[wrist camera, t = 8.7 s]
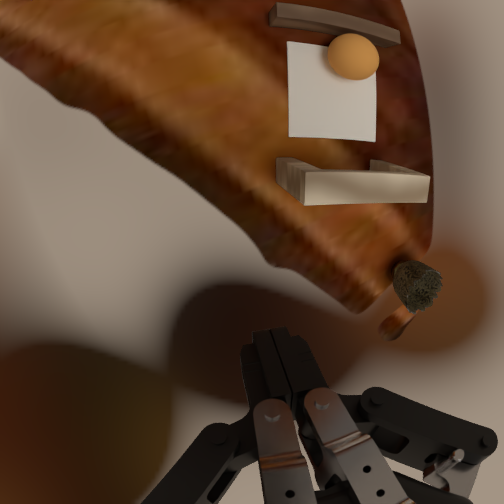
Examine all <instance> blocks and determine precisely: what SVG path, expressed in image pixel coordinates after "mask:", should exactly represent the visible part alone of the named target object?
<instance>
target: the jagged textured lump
mask: <svg viewBox="0 0 504 504" xmlns="http://www.w3.org/2000/svg"><path fill="white" fill-rule="evenodd" d="M391 275H392V278H393V286H394V289H395V292H396V293H397V295H398V296H399V298H400V300H401V301H402V302H403V304H404V305H405V307H406V308H407V309H408V311H409V312H410V313H411V312H412V313H413V314H416V310H418V309H420V310H421V311H425V307H430V306H432V303H433V298H437V297H438V296H437V294H436V292H440V291H441V287H440V286H442V283H441V281H440V279H442V278H441V276H440V273H439V272H437V271H436V270H434V269H432V268H431V267H429V266H427V265H425V264H424V263H421V262H419V261H415V260H410V261H404V260H400V261H398V262H396V263H395V264H394V266H393V267H392V270H391ZM435 291H436V292H435Z"/></svg>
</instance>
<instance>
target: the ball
mask: <svg viewBox="0 0 504 504" xmlns="http://www.w3.org/2000/svg"><path fill="white" fill-rule="evenodd" d="M327 55H328V60H329V63H330V65H331V67H332V68H333V69H334V71H335V72H336V73H338V74H339V75H340V76H342V77H344V78H346V79H350V80H364V79H367V78H369V77H370V76H372V75H373V74H374V73H375V71H376V70H377V68H378V65H379V55H378V52H377V50H376V48H375V46H374V45H373V44H372V43H371V42H370V41H369V40H368V39H366V38H365V37H363V36H361V35H358V34H352V33H348V34H342V35H340V36H338V37H336V38H335V39H334V40H333V41H332V42H331V43H330V45H329V47H328V54H327Z"/></svg>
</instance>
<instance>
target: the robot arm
mask: <svg viewBox="0 0 504 504" xmlns="http://www.w3.org/2000/svg"><path fill="white" fill-rule="evenodd" d="M252 341H253V344H246V345H243V346H242V349H241V353H240V359H241V369H242V376H243V381H244V385H245V390H246V395H247V399H248V403H249V408H250V410H249V412H248V413H247V415H246V416H245V417H244V418H242V419H241V420H239V421H237V422H235V423H232V424H230V425H228V424H225V423H213V424H210V425H208V426H206V427H205V428H204V429H203V430H202V431H201V433H200V434H199V435H198V436H197V438H196V439H195V440H194V441H193V443H192V444H191V445H190V446H189V448H188V449H187V450H186V451H185V453H184V454H183V455H182V456H181V458H180V459H179V460H178V461H177V463H176V464H175V465H174V466H173V467H172V468H171V470H170V471H169V472H168V473H167V474H166V475H165V477H164V478H163V479H162V480H161V481H160V483H159V484H158V485H157V486H156V487H155V488H154V489H153V490H152V492H151V493H150V494H149V495H148V496H147V497H146V499H144V500H143V502H142V503H141V504H218V503H219V501H220V500H221V498H222V497H223V496H224V494H225V493H226V491H227V490H228V489H229V487H230V486H231V484H232V483H233V481H234V480H235V478H236V477H237V475H238V474H239V473H240V471H241V469H242V468H244V467H246V466H248V465H250V464H252V463H254V462H256V461H258V464H259V470H260V477H261V484H262V491H263V498H264V504H473V503H472V502H471V501H470V500H469V499H468V498H469V495H470V493H471V490H472V487H473V485H474V481H475V479H476V476H477V473H478V469H479V467H480V464H481V462H482V461H483V460H484V459H486V458H487V457H488V456H490V455H491V454H492V453H493V452H494V451H495V450H496V448H497V444H498V440H497V435H496V433H495V432H494V431H493V430H492V429H490V428H487V427H484V426H481V425H478V424H475V423H471V422H469V421H466V420H463V419H460V418H457V417H454V416H451V415H449V414H446V413H443V412H441V411H438V410H435V409H433V408H430V407H428V406H425V405H423V404H420V403H418V402H415V401H413V400H410V399H408V398H405V397H403V396H400V395H398V394H396V393H393V392H391V391H389V390H386V389H384V388H381V387H372V388H369V389H367V390H365V391H364V392H363V394H362V395H341V394H337V393H336V392H334V391H333V390H331V389H330V388H329V387H328V386H327V383H326V381H325V379H324V377H323V375H322V373H321V371H320V369H319V367H318V364H317V363H316V360H315V359H314V356H313V354H312V353H311V350H310V348H309V345H308V344H307V342H306V341H305V340H304V339H303V338H301V337H300V336H299V335H297V336H292V337H290V334H289V332H288V330H287V327H286V326H284V327H278V328H272V329H267V330H261V331H254V332H252ZM293 420H296V421H297V424H298V427H299V428H298V435H299V438H300V440H301V442H302V444H303V446H304V449H305V451H306V453H307V455H308V458H309V460H310V462H311V464H312V466H313V469H314V472H315V479H316V482H317V485H318V486H319V489H320V491H314V489H313V485H312V481H311V477H310V473H309V469H308V465H307V462H306V459H305V457H304V456H303V455H302V453H301V450H300V446H299V442H298V438H297V434H296V430H295V425H294V422H293ZM383 456H385V457H388V458H390V459H392V460H395V461H397V462H399V463H402V464H405V465H407V466H410V467H412V468H415V469H418V470H421V471H423V481H424V482H426V483H428V484H430V485H428V484H426V483H423V482H420V481H417V480H415V479H413V478H411V477H408V476H406V475H403V474H401V473H398V472H395V471H392V470H391V468H390V467H389V465H388V463H387V462H386V460H385V458H384V457H383ZM431 485H432V486H431Z"/></svg>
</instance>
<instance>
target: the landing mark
mask: <svg viewBox="0 0 504 504" xmlns="http://www.w3.org/2000/svg"><path fill="white" fill-rule="evenodd" d="M327 54H328V47H326V46H320V45H313V44H305V43H297V42H288V41H287V64H288V131H289V137H314V138H335V139H349V140H361V141H372V142H375V134H376V71H375V73H374V74H373V75H372V76H370V77H369V78H367V79H364V80H350V79H346V78H344V77H342V76H340V75H339V74H338V73H336V72H335V71H334V69H333V68H332V67H331V65H330V63H329V60H328V55H327Z"/></svg>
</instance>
